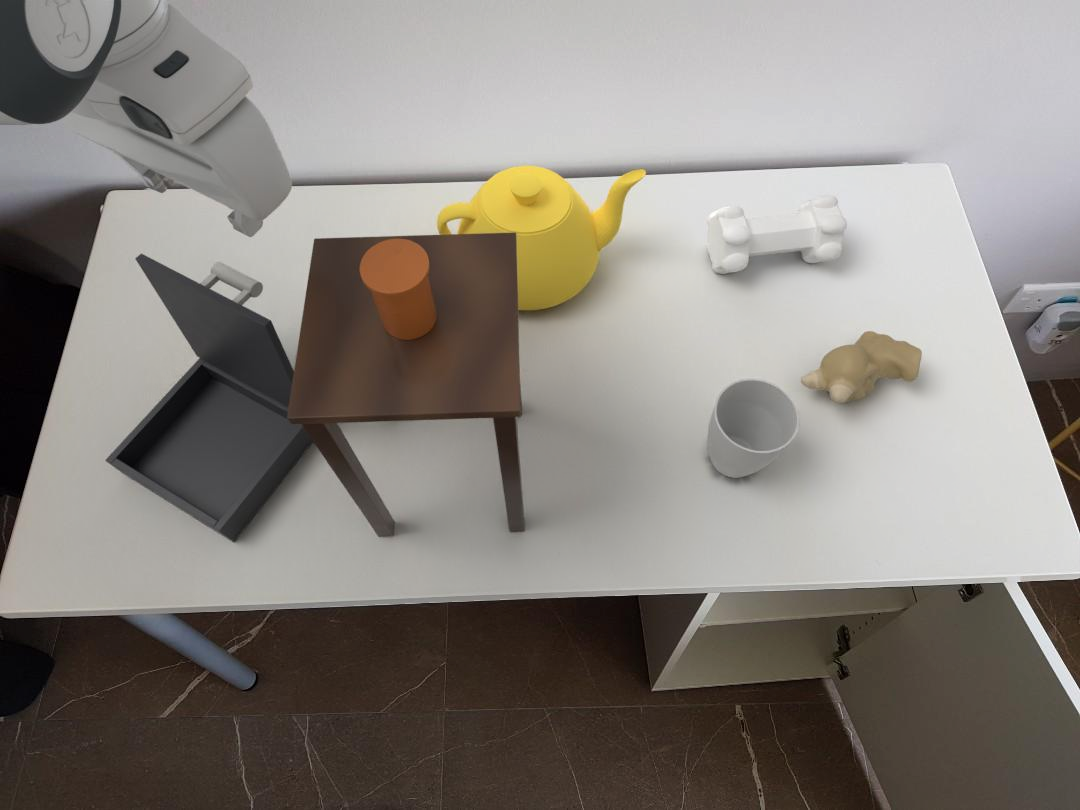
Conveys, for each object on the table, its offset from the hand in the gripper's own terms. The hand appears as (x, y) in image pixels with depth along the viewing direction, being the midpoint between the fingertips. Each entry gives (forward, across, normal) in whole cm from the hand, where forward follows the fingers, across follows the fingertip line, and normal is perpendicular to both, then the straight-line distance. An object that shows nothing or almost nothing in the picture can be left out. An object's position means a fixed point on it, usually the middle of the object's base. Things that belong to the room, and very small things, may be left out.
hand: (205, 206), depth 57 cm
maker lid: (+16, -2, -4) cm, 17 cm away
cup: (+28, +46, +15) cm, 57 cm away
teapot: (+29, +14, +28) cm, 43 cm away
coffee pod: (0, +20, -1) cm, 20 cm away
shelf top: (+1, +20, -1) cm, 21 cm away
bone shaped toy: (+29, +39, +43) cm, 65 cm away
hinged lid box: (+28, -2, -12) cm, 31 cm away
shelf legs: (+28, +20, -1) cm, 35 cm away
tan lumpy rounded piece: (+29, +54, +30) cm, 69 cm away
